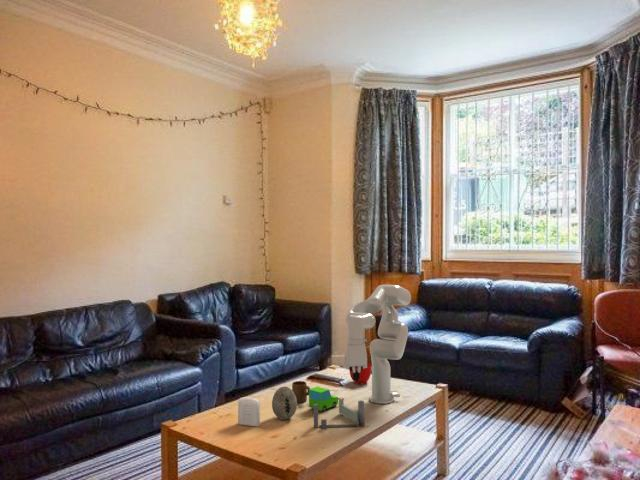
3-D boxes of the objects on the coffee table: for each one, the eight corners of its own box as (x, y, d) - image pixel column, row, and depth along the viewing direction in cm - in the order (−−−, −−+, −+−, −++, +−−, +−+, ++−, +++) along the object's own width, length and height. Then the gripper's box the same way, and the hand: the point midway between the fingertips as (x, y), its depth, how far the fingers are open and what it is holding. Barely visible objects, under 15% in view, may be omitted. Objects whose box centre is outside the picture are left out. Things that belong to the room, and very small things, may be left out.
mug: (315, 403, 255) (315, 384, 255) (304, 406, 250) (304, 388, 250) (300, 397, 264) (299, 380, 264) (289, 401, 259) (289, 383, 258)
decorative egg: (276, 425, 226) (275, 392, 226) (269, 416, 237) (268, 385, 237) (300, 421, 230) (300, 388, 230) (292, 412, 241) (292, 382, 241)
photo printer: (261, 423, 228) (260, 396, 228) (257, 427, 224) (257, 399, 224) (241, 421, 231) (240, 395, 231) (236, 425, 227) (236, 398, 227)
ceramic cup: (347, 387, 280) (347, 369, 280) (350, 378, 297) (350, 362, 297) (370, 388, 278) (370, 370, 278) (372, 379, 295) (372, 362, 295)
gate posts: (364, 424, 225) (363, 400, 225) (365, 428, 221) (365, 403, 221) (313, 425, 224) (313, 401, 224) (313, 429, 220) (313, 404, 220)
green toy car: (340, 406, 249) (340, 386, 249) (322, 413, 240) (322, 393, 240) (325, 402, 256) (325, 382, 256) (307, 409, 247) (307, 388, 247)
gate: (360, 421, 226) (360, 406, 226) (356, 422, 225) (356, 407, 225) (342, 411, 240) (341, 397, 240) (338, 412, 239) (338, 397, 239)
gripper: (369, 339, 239) (370, 377, 239) (339, 340, 237) (339, 379, 237) (373, 342, 231) (373, 382, 231) (341, 343, 229) (341, 383, 229)
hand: (356, 380), depth 234 cm, fingers closed
